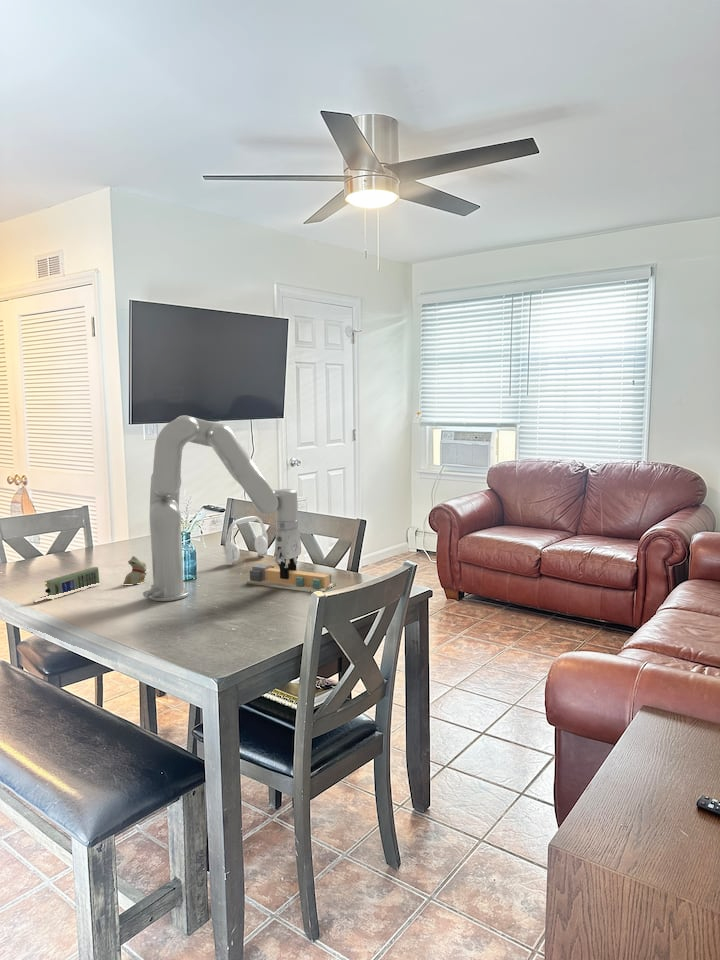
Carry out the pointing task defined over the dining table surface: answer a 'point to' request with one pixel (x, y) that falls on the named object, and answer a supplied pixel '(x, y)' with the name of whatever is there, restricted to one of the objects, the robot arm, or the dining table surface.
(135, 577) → the chocolate bunny
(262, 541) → the headset
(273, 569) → the grey-capped wooden beam
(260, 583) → the clip holder
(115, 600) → the dining table surface
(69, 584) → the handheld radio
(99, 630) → the dining table surface
